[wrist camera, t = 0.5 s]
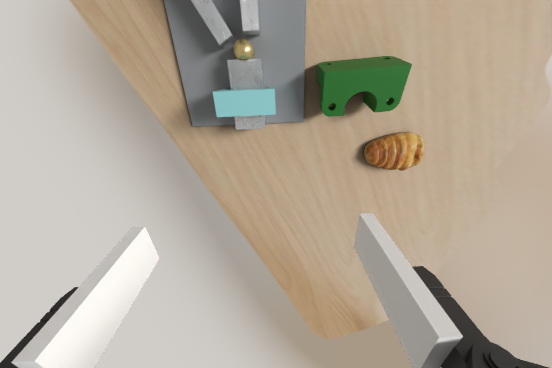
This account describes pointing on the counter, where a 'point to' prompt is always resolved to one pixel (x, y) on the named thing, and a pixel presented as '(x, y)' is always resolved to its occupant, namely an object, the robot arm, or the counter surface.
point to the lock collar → (245, 102)
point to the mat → (213, 58)
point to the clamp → (362, 83)
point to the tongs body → (247, 63)
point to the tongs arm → (215, 22)
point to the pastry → (395, 151)
